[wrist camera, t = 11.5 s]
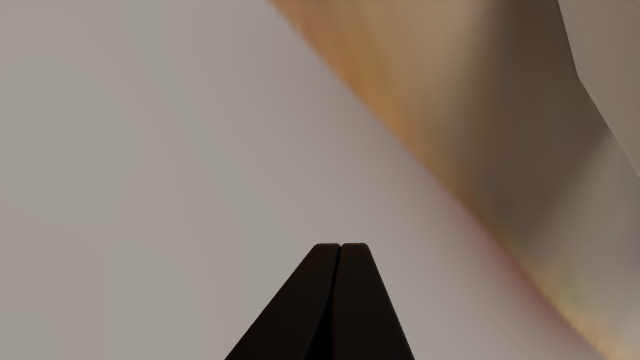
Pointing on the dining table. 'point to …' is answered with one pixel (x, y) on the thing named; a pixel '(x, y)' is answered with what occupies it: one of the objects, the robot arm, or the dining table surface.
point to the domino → (609, 63)
